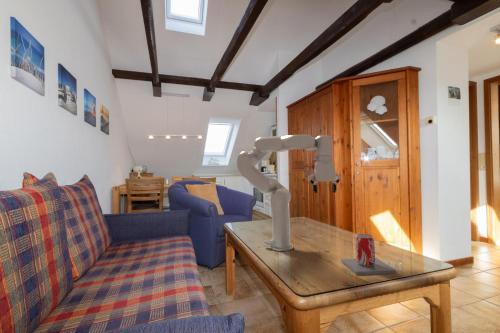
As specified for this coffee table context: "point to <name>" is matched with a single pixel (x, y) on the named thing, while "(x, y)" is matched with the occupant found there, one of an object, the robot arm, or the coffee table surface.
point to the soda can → (365, 250)
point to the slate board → (368, 267)
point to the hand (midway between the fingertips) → (324, 192)
